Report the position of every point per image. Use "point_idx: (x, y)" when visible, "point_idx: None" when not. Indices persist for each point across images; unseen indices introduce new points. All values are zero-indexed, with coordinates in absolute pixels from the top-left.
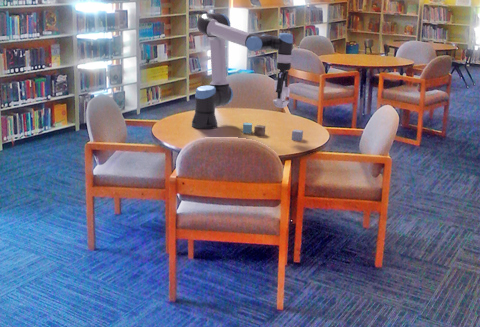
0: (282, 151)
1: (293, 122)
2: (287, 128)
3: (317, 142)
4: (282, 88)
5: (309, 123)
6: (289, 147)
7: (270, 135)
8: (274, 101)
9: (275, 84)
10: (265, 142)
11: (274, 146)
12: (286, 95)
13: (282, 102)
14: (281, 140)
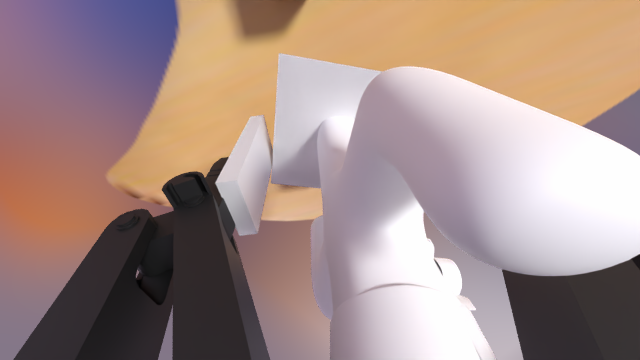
0: (134, 165)
1: (617, 28)
2: (477, 51)
3: (316, 208)
4: (325, 251)
5: (594, 104)
6: (197, 166)
7: (307, 29)
8: (282, 83)
9: (387, 143)
10: (179, 63)
11: (161, 120)
12: (311, 231)
13: (273, 172)
14: (260, 109)
